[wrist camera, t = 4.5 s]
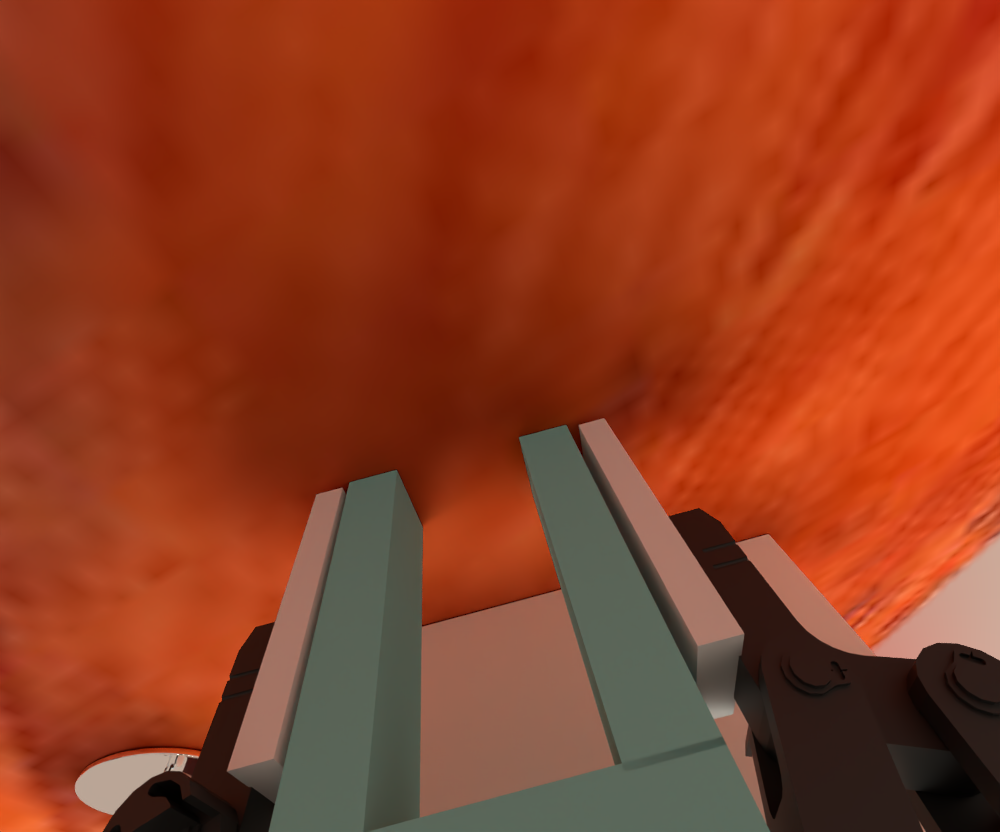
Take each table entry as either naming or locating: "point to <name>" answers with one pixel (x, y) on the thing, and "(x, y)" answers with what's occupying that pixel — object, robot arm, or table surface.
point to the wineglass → (129, 774)
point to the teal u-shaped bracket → (397, 682)
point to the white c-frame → (554, 692)
